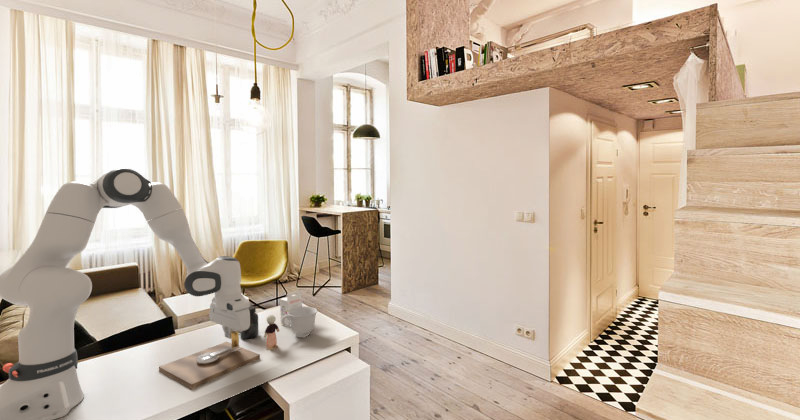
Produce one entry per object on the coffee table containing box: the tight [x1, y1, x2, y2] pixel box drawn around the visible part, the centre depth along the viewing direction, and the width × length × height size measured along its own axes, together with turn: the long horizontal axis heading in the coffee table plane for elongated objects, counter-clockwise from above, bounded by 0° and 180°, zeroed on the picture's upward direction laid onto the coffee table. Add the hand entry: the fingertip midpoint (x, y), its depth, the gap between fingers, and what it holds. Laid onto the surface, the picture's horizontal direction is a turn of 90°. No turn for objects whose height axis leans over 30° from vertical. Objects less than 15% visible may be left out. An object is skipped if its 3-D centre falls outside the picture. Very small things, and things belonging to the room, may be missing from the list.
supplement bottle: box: [239, 305, 259, 341], centre depth 151 cm, size 7×7×12 cm
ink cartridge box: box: [279, 289, 303, 325], centre depth 167 cm, size 9×5×15 cm, turn 147°
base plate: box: [158, 341, 261, 390], centre depth 128 cm, size 24×20×2 cm
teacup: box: [282, 306, 318, 338], centre depth 153 cm, size 12×15×10 cm
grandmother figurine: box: [263, 314, 280, 351], centre depth 141 cm, size 8×4×13 cm, turn 168°
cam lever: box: [196, 330, 240, 365], centre depth 130 cm, size 14×7×6 cm, turn 147°
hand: (229, 337), depth 137 cm, fingers closed
